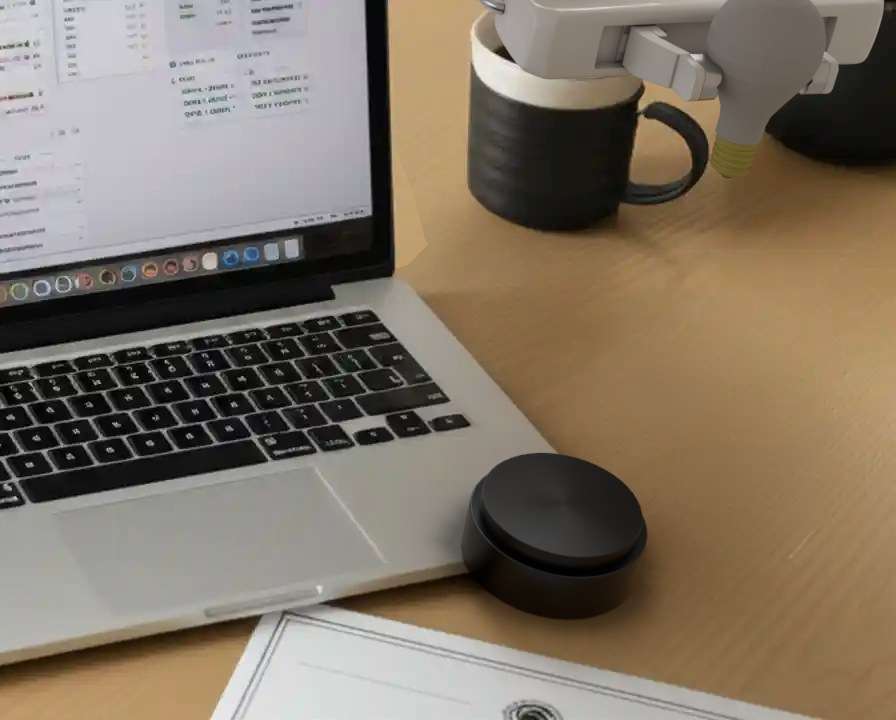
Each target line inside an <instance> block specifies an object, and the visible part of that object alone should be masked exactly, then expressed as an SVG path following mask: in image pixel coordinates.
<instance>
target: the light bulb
mask: <svg viewBox="0 0 896 720" xmlns="http://www.w3.org/2000/svg"><path fill="white" fill-rule="evenodd" d="M825 48H826V31H825V26H824V22H823V19H822V17H821V15H820V13H819V11H818V9H817V8H816V6H815V5H814V4H813V3H812V2H811V1H810V0H727V1H726V2H725V4H724V5H723V6H722V7H721V8H720V9H719V11H718V12H717V14H716V15H715V17H714V18H713V20H712V23H711V26H710V29H709V32H708V36H707V49H706V54H707V55H708V56H709V57H710V58H711V60H712V61H713V62H714V63H716V64H717V65H719V66H720V67H721V69H722V72H723V76H722V81H721V83H720V84H719V85H718V86H717V88H718V91H719V92H718V95H717V97H718V102H719V105H720V108H719V116H718V119H717V123H716V126H715V133H716V134H715V140H714V143H713V147H712V150H711V154H710V157H709V165H710V167H711V168H712V169H713V170H714V171H715V172H716V173H718V174H720V175H721V176H722V178H725V179H732V178H740V177H744V176H746V175H748V173H749V172H750V170H751V166H752V165H753V159H754V158H755V153H756V152H757V148H758V146H759V144H760V143H761V142H762V141H763V137H764V133H765V131H766V126H767V125H768V123H769V121H770V119H771V118H772V116H774V114H776V113H777V112H778V111H779V110H780V109H781V108H782V107H783V106H785V104H786V103H788V102H789V101H790V100H791V99H793V98H794V97H795V96H796V95H797V94H799V91H800V90H801V89H802V88H803V87H804V86H805V85H806V84H807V83H808V82H809V81H810V80H811V79H812V78H813V77H814V75H815V73H816V71H817V70H818V68H819V66H820V65H821V62H822V59H823V55H824V52H825Z"/></svg>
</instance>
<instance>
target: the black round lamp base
mask: <svg viewBox="0 0 896 720" xmlns="http://www.w3.org/2000/svg"><path fill="white" fill-rule="evenodd" d="M462 531H463V532H462V536H461V544H460V546H461V554H462V557H463V561H464V563H465V565H466V567H467V570H468V571H469V572H470V574H471V575H472V577H473V578H474V579H475V580H476V582H477V583H478V584H479V585H480V586H481V587H483V588H484V589H485V591H487V592H488V593H489V594H491V596H494V597H496V599H498V600H499V601H502V602H503V603H505V604H506V605H508V606H512V607H513V608H515V609H518V610H520V611H523V612H525V613H529V614H532V615H535V616H541V617H544V618H550V619H557V620H559V619H560V620H578V619H579V620H581V619H587V618H592V617H593V618H594V617H597V616H601V615H604V614H606V613H608V612H609V611H610V612H611V611H612V610H614V609H615V608H617V607H618V606H619V605H621V604H623V602H625V600H626V599H627V598H629V595H630V594H631V592H632V591H633V589H634V587H635V584H636V579H637V577H638V573H639V570H640V567H641V564H642V560H643V557H644V553H645V551H646V547H647V543H648V527H647V523H646V520H645V517H644V516H643V511H642V507H641V504H640V502H639V500H638V498H637V497H636V495H635V493H634V492H633V491H632V490H631V489H630V487H629V486H628V485H626V484H625V482H624V481H622V480H621V479H620V478H619V477H617V476H616V475H615V474H613V473H612V472H611V471H609V470H607V469H606V468H603V467H601V466H599V465H597V464H595V463H593V462H591V461H588V460H586V459H582V458H579V457H577V456H571V455H568V454H561V453H554V452H531V453H524V454H519V455H514V456H511V457H509V458H507V459H504V460H502V461H500V462H499V463H497V464H496V465H495V466H494V467H493V468H491V469H490V471H489V472H488V473H487V474H485V475H484V476H483V477H482V478H481V479H480V480H479V481H478V482H477V484H476V485H475V487H474V488H473V490H472V492H471V495H470V499H469V504H468V509H467V513H466V517H465V522H464V527H463V530H462Z"/></svg>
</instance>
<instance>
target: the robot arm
mask: <svg viewBox="0 0 896 720" xmlns="http://www.w3.org/2000/svg"><path fill="white" fill-rule="evenodd" d="M476 1H477V3H479V4H480V5H481V6H482V7H483V8H484V9H485V10H487V11H489V12H491V13H493V14H495V17H494V27H495V29H496V32H497V35H498V37H499V39H500V41H501V42H502V44H503V46H504V48H505V49H506V51H507V52H508V54H509V55H510V57H511V58H512V59H513V61H514V62H515V63H516V64H517V66H518V67H519V68H520V70H522V71H523V72H525V73H527V74H530V75H532V76H534V77H538V78H540V79H544V80H567V79H584V78H586V79H588V78H589V79H590V78H608V77H623V76H624V77H625V76H633V77H634V78H638V79H640V80H644V81H646V82H649V83H652V84H655V85H658V86H660V87H664V88H666V89H671V90H672V91H673V92H674V93H675V94H677V96H679V97H680V99H682V100H683V101H684V102H703V101H714V100H715V99H717V97H718V92H719V91H718V88H717V86H718V85H719V84H720V83H721V81H722V76H723V72H722V69H721V67H720V66H719V65H717V64H716V63H714V62H713V61H712V60H711V58H710V57H709V56H708V55H707V54H706V49H707V36H708V32H709V29H710V26H711V23H712V20H713V18H714V17H715V15H716V14H717V12H718V11H719V9H720V8H721V7H722V6H723V5H724V4H725V2H726V1H727V0H476ZM810 1H811V2H812V3H813V4H814V5H815V6H816V8H817V9H818V11H819V13H820V15H821V17H822V19H823V22H824V26H825V31H826V48H825V52H824V55H823V59H822V62H821V65H820V66H819V68H818V70H817V71H816V73H815V75H814V77H813V78H812V79H811V80H810V81H809V82H808V83H807V84H806V85H805V86H804V87H803V88H802V89H801V90H800V91H799V92H798V94H800V95H801V96H802V95H828V94H830V93H831V92H832V90H833V89H834V87H835V83H836V80H837V77H838V74H839V71H840V70H839V68H840V67H839V65H857V64H861V63H863V62H864V61H865V60H866V59H867V58H868V57H869V54H870V52H871V50H872V48H873V46H874V43H875V41H876V38H877V36H878V32H879V29H880V26H881V22H882V19H883V15H884V8H885V0H810Z"/></svg>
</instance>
